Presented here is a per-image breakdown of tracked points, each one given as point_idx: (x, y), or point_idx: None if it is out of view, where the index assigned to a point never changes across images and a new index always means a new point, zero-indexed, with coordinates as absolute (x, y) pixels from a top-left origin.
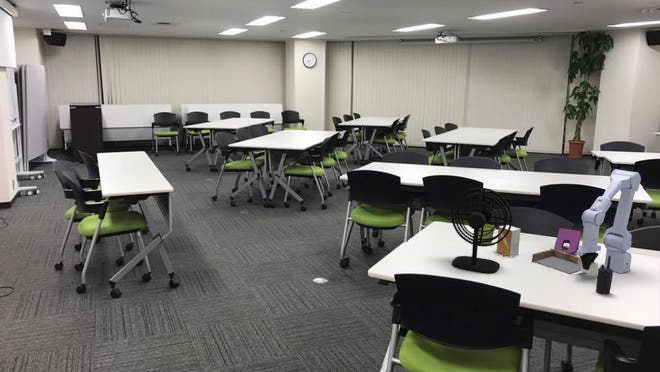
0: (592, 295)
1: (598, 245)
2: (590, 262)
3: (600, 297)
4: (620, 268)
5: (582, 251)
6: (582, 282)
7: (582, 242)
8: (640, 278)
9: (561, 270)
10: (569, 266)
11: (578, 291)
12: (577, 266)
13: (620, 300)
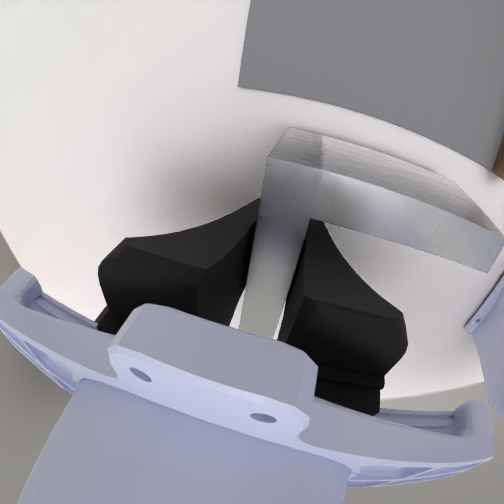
0: (93, 278)
1: (469, 468)
2: (243, 305)
3: None
4: (483, 338)
5: (22, 353)
6: (164, 212)
7: (30, 485)
8: (433, 373)
9: (248, 14)
10: (418, 32)
11: (74, 235)
12: (285, 134)
13: None
